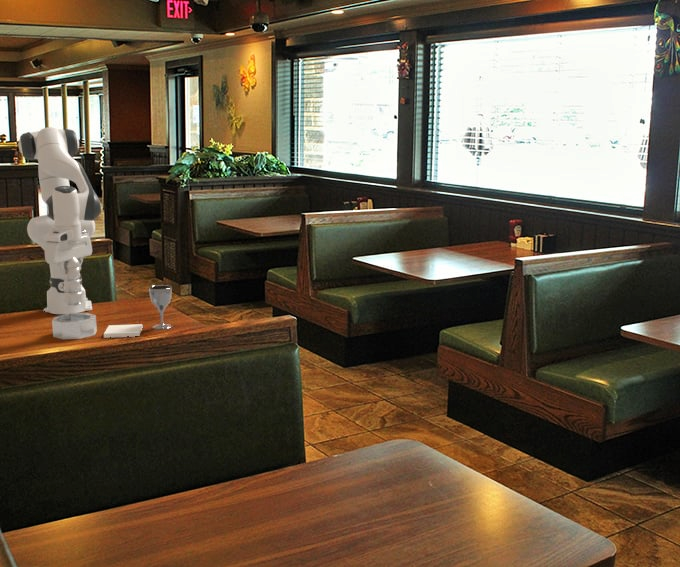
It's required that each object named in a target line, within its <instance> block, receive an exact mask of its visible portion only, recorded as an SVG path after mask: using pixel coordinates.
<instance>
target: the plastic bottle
mask: <svg viewBox="0 0 680 567" xmlns="http://www.w3.org/2000/svg"><path fill="white" fill-rule="evenodd" d="M63 266H64V268H65V269H67V271H66V272H67V274H64V275H63V278H64V291H65V293H64V301H65V303H66V304H67V305H73V306H74V305H78V304H81V303H82V302H83V294H82V291H81V285H80V275H81V273H80V272H81V270H80V263H79V261H78V259H77V258H75V257H74V258H72V259H71V260H69V261H65V262H64V265H63Z"/></svg>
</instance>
